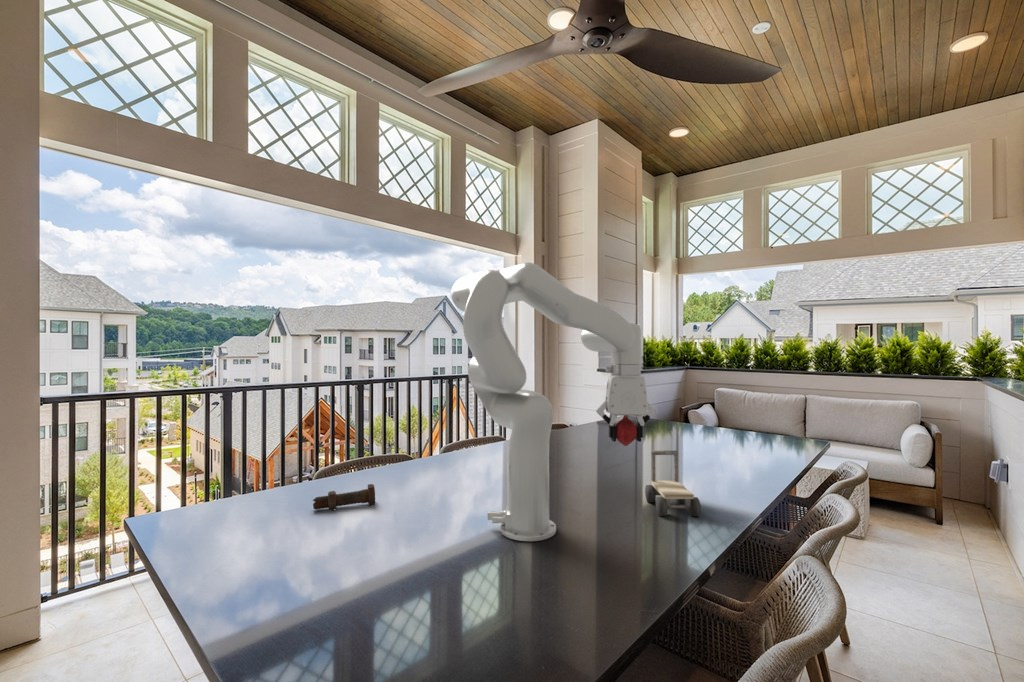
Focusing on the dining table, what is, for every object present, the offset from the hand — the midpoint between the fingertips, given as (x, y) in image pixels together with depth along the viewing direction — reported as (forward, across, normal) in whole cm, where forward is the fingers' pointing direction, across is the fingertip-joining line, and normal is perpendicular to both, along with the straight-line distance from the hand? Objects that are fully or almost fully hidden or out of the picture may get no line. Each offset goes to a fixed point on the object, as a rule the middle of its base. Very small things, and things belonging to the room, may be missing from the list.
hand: (625, 439), depth 123 cm
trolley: (+17, +11, -1) cm, 21 cm away
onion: (+2, 0, 0) cm, 2 cm away
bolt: (+18, -73, +2) cm, 75 cm away
